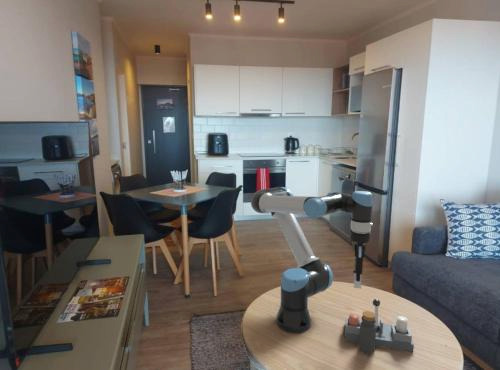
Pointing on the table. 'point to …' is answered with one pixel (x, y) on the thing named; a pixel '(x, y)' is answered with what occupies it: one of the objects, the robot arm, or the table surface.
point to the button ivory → (401, 324)
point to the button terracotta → (354, 320)
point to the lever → (376, 311)
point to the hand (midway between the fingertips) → (357, 287)
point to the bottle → (367, 333)
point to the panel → (382, 336)
